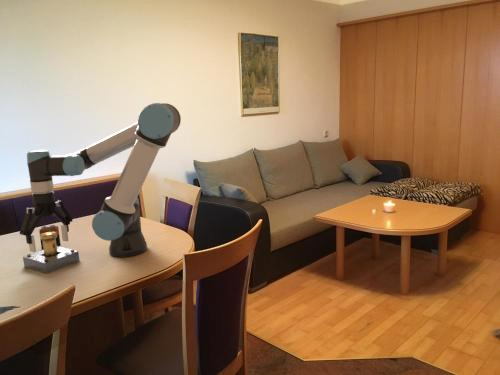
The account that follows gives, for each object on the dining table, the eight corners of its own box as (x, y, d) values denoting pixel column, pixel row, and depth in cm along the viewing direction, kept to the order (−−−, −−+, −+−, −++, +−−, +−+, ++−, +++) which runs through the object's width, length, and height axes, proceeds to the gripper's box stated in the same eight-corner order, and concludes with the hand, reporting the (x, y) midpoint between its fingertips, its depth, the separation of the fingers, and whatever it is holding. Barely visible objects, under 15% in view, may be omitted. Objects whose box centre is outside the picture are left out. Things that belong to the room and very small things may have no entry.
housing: (79, 260, 166) (78, 249, 165) (46, 273, 154) (44, 261, 153) (57, 255, 173) (56, 244, 172) (24, 266, 162) (22, 255, 161)
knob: (63, 262, 165) (59, 233, 162) (49, 267, 160) (45, 237, 157) (54, 260, 168) (50, 231, 165) (40, 265, 163) (36, 235, 160)
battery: (58, 249, 180) (55, 226, 178) (41, 250, 179) (38, 228, 177) (61, 245, 185) (58, 223, 182) (44, 247, 183) (41, 225, 181)
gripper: (66, 184, 170) (72, 235, 175) (3, 197, 150) (12, 254, 154) (78, 186, 166) (83, 237, 171) (15, 199, 146) (24, 258, 150)
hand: (49, 246), depth 162 cm, fingers open, 13 cm apart
